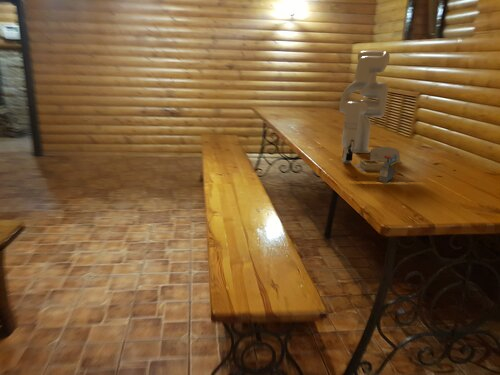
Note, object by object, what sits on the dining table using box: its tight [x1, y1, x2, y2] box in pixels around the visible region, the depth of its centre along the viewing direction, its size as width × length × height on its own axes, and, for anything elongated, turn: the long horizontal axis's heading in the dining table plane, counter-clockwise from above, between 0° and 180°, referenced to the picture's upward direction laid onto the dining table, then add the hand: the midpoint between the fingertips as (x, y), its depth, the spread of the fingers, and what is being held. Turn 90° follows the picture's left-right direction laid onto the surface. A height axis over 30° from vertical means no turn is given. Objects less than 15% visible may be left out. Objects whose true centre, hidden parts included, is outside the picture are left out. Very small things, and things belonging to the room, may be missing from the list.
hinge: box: [369, 146, 401, 163], centre depth 214 cm, size 17×5×10 cm, turn 86°
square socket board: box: [359, 155, 393, 171], centre depth 196 cm, size 8×16×7 cm, turn 93°
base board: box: [353, 163, 397, 173], centre depth 198 cm, size 14×18×1 cm
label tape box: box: [378, 155, 397, 184], centre depth 180 cm, size 9×4×12 cm, turn 141°
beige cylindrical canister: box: [342, 146, 352, 165], centre depth 206 cm, size 4×4×11 cm
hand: (347, 158), depth 206 cm, fingers open, 5 cm apart
